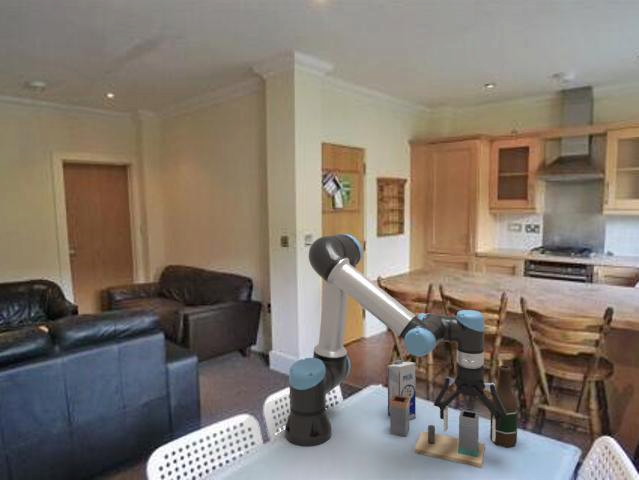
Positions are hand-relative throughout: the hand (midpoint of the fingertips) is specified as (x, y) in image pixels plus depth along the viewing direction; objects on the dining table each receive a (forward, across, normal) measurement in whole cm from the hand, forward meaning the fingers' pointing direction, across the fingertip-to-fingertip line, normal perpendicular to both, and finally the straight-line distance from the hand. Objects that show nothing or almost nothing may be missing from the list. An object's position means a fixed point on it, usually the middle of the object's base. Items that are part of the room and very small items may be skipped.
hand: (469, 434), depth 128 cm
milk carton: (+6, -24, +14) cm, 29 cm away
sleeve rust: (+6, -22, +4) cm, 23 cm away
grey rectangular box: (+5, 0, 0) cm, 5 cm away
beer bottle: (+6, +9, +12) cm, 16 cm away
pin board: (+6, -6, 0) cm, 8 cm away
